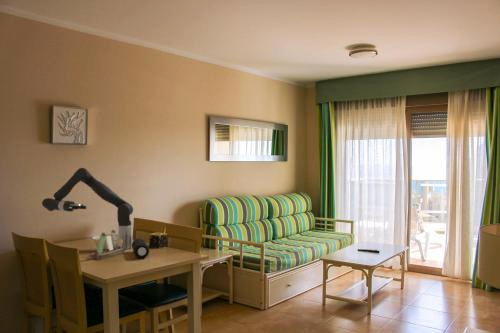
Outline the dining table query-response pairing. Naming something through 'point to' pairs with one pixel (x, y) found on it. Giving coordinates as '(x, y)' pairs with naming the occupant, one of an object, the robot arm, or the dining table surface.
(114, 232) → the steel lever
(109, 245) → the cream paddle
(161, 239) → the candle
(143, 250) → the portable speaker
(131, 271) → the dining table surface
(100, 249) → the green lever
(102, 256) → the switch bank
